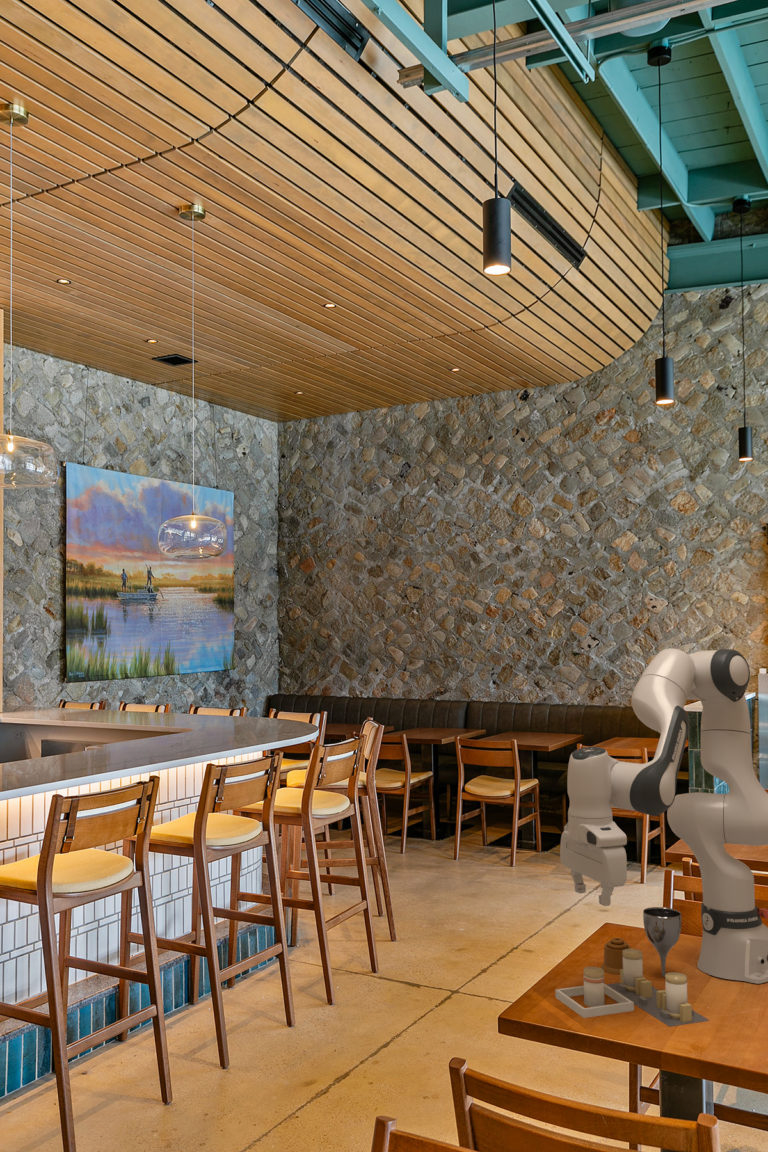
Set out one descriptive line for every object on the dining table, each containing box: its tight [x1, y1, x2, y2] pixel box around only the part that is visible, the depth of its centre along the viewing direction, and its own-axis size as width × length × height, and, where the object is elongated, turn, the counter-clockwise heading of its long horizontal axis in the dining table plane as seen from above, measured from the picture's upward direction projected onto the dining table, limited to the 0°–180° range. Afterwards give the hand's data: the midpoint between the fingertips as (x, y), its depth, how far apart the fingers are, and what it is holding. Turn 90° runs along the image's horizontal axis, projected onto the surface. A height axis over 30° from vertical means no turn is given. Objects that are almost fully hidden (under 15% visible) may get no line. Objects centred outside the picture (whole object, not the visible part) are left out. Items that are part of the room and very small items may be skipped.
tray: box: [554, 983, 635, 1019], centre depth 187 cm, size 11×11×3 cm
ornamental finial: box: [600, 937, 632, 976], centre depth 207 cm, size 8×8×8 cm
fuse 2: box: [664, 971, 688, 1020], centre depth 181 cm, size 4×4×8 cm
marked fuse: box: [583, 966, 606, 1008], centre depth 187 cm, size 4×4×8 cm
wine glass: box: [642, 906, 682, 978], centre depth 203 cm, size 8×8×15 cm
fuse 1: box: [623, 948, 644, 992], centre depth 195 cm, size 4×4×8 cm
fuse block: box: [605, 969, 711, 1028], centre depth 188 cm, size 9×23×4 cm, turn 18°
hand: (592, 898), depth 189 cm, fingers open, 8 cm apart
